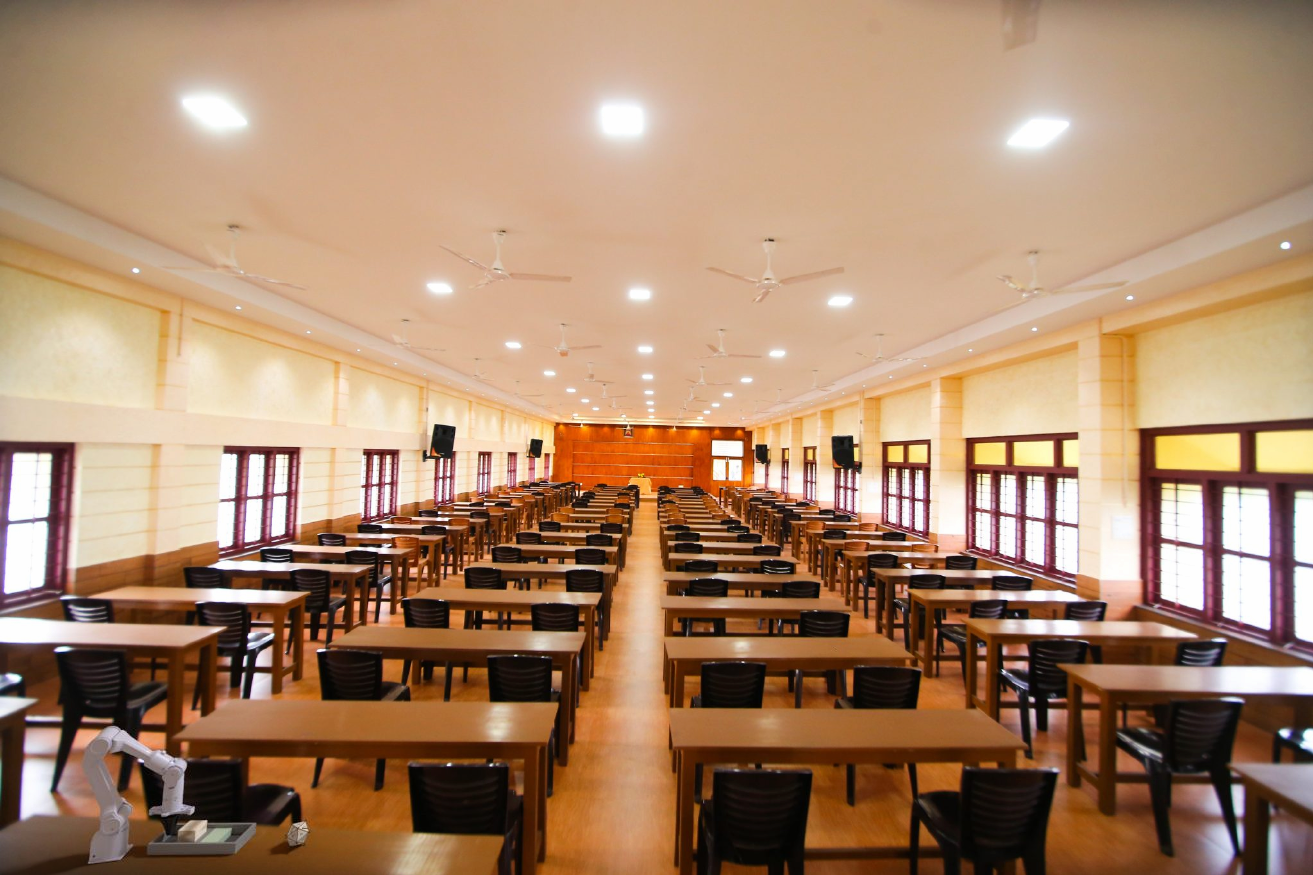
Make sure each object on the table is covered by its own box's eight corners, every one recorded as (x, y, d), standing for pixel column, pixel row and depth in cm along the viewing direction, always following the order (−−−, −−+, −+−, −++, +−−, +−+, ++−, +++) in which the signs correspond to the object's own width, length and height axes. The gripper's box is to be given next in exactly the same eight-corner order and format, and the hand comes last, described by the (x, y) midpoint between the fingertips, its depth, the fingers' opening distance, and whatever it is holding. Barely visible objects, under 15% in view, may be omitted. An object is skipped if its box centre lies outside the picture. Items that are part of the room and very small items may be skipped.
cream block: (177, 841, 209) (178, 830, 209) (189, 831, 215) (190, 820, 215) (194, 841, 209) (195, 830, 209) (206, 831, 215) (207, 820, 215)
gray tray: (146, 854, 205) (147, 844, 205) (172, 833, 217) (173, 823, 217) (234, 854, 207) (235, 843, 207) (255, 832, 219) (256, 822, 219)
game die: (298, 857, 212) (299, 844, 207) (278, 847, 212) (278, 835, 207) (316, 832, 220) (317, 819, 215) (296, 822, 220) (297, 810, 215)
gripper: (143, 802, 207) (140, 841, 207) (185, 802, 209) (182, 840, 208) (158, 791, 215) (155, 828, 214) (199, 791, 216) (196, 828, 215)
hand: (170, 833), depth 211 cm, fingers closed
